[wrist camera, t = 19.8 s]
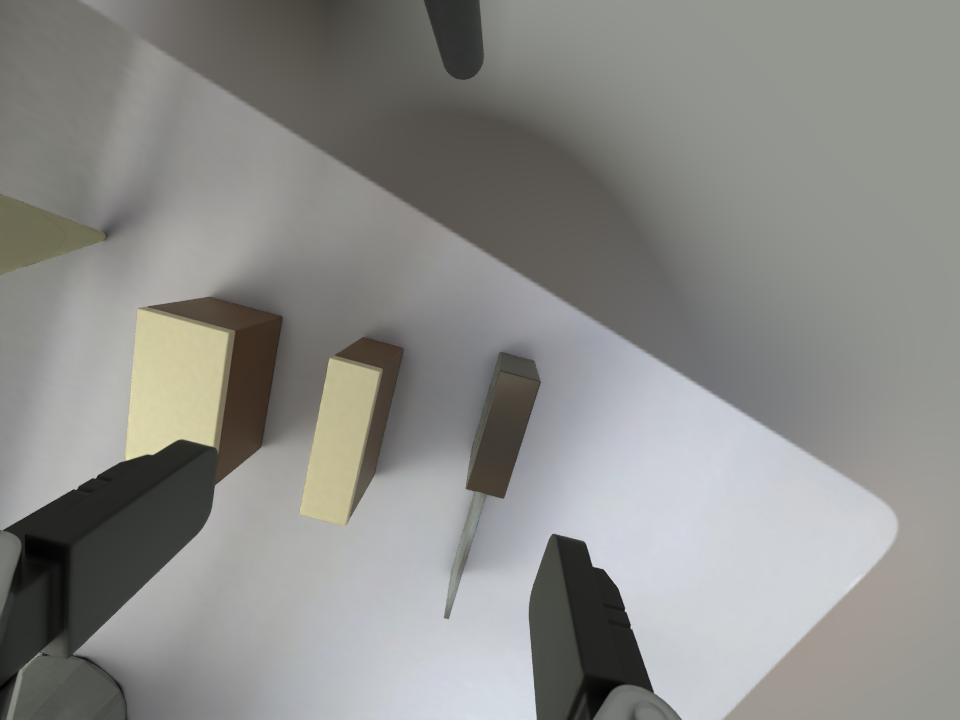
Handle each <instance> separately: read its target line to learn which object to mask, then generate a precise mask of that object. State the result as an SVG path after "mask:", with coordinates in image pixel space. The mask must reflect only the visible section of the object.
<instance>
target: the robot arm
mask: <svg viewBox="0 0 960 720" xmlns="http://www.w3.org/2000/svg"><path fill="white" fill-rule="evenodd" d="M217 462H218V452H217V449H216V448H215V447H212V446H208V445H204V444H200V443H196V442H192V441H188V440H184V439H180V440H177V441H175V442H173V443H172V444H170V445H169V446H167V447H165V448H164V449H162V450H160V451H159V452H157V453H155V454H154V455H150V454H146V455H143V456H140V457H137V458H133V459H130V460H127V461H124V462H120V463H118V464H117V465H115V466H113V467H111V468H110V469H108V470H106V471H105V472H103V473H101V474H99V475H98V476H97V478H96V479H94V478H92V479H91V480H89V481H87V482H86V483H84V484H82V485H80V486H79V487H78V489H77V490H74V489H73V490H72V491H70V492H68V493H66V494H65V495H63V496H61V497H60V498H58V499H56V500H54V501H53V502H51V503H49V504H47V505H46V506H44V507H42V508H41V509H39V510H37V511H35V512H34V513H32V514H30V515H28V516H27V517H25V518H23V519H22V520H20V521H18V522H16V523H15V524H13V525H11V526H9V527H8V528H6V529H4V530H3V531H2V530H0V720H13V716H14V711H15V707H16V703H17V699H18V695H19V691H20V686H21V682H22V667H23V666H25V665H26V664H27V663H28V662H29V661H30V660H31V659H32V658H34V657H35V656H36V655H37V654H38V653H43V654H47V655H52V656H56V657H60V658H64V659H68V658H69V657H70V656H71V655H72V654H73V653H74V652H75V651H76V650H78V649H79V648H80V647H81V646H82V645H83V644H84V643H85V642H86V641H87V640H88V639H89V638H90V637H91V636H92V635H93V634H94V633H95V632H96V631H97V630H98V629H99V628H100V627H101V626H102V625H103V624H105V623H106V622H107V621H108V620H109V619H110V618H111V617H112V616H113V615H114V614H115V613H116V612H117V611H118V610H119V609H120V608H121V607H122V606H123V605H124V604H125V603H126V602H127V601H128V600H129V599H130V598H132V597H133V596H134V595H135V594H136V593H137V592H138V591H139V590H140V589H141V588H142V587H143V586H144V585H145V584H146V583H147V582H148V581H149V580H150V579H151V578H152V577H153V576H154V575H155V574H156V573H157V572H159V571H160V570H161V569H162V568H163V567H164V566H165V565H166V564H167V563H168V562H169V561H170V560H171V559H172V558H173V557H174V556H175V555H176V554H177V553H178V552H179V551H180V550H181V549H182V548H183V547H184V546H185V545H187V544H188V543H189V542H190V541H191V540H192V539H193V538H194V537H195V536H196V535H197V534H198V533H199V532H200V530H201V529H202V528H203V526H204V525H205V523H206V521H207V519H208V517H209V515H210V512H211V509H212V504H213V496H214V487H215V479H216V470H217ZM529 625H530V638H531V650H532V663H533V676H534V688H535V701H536V714H537V720H682V719H681V718H680V717H679V716H678V714H677V713H676V712H675V711H674V710H673V709H672V708H671V707H670V705H668V704H667V703H666V702H665V701H664V700H663V699H661V698H660V697H658V696H657V695H656V694H654V691H653V688H652V685H651V683H650V680H649V677H648V674H647V671H646V668H645V665H644V662H643V659H642V656H641V653H640V651H639V648H638V645H637V642H636V639H635V636H634V633H633V630H632V629H630V626H631V624H630V621H629V619H628V616H627V613H626V612H625V607H624V604H623V601H622V598H621V595H620V592H619V589H618V588H617V586H616V585H615V584H614V582H613V581H612V580H611V578H610V577H609V576H608V575H607V573H606V572H605V571H604V570H603V569H599V568H595V567H593V566H592V563H591V560H590V556H589V553H588V549H587V546H586V543H585V542H584V541H581V540H577V539H573V538H569V537H565V536H561V535H557V534H552V535H551V537H550V539H549V541H548V544H547V547H546V550H545V553H544V555H543V558H542V561H541V564H540V567H539V570H538V573H537V576H536V579H535V581H534V584H533V588H532V591H531V596H530V603H529Z"/></svg>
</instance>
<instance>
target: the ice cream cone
mask: <svg viewBox="0 0 960 720" xmlns="http://www.w3.org/2000/svg"><path fill="white" fill-rule="evenodd" d="M105 239H106V235H105V233H103V232H101V231H99V230H96V229H93V228H91V227H88V226H85V225H83V224H80V223H77V222H75V221H72V220H69V219H67V218H64V217H61V216H59V215H56V214H53V213H50V212H48V211H45V210H42V209H40V208H37V207H34V206H32V205H29V204H26V203H24V202H21V201H18V200H16V199H13V198H10V197H7V196H4V195H2V194H0V275H1V274H4V273H7V272H10V271H13V270H16V269H18V268H22V267H25V266H29V265H32V264H35V263H37V262H40V261H43V260H46V259H49V258H52V257H55V256H58V255H61V254H64V253H67V252H70V251H73V250H76V249H79V248H82V247H85V246H88V245H91V244H94V243H97V242H100V241H103V240H105Z"/></svg>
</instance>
